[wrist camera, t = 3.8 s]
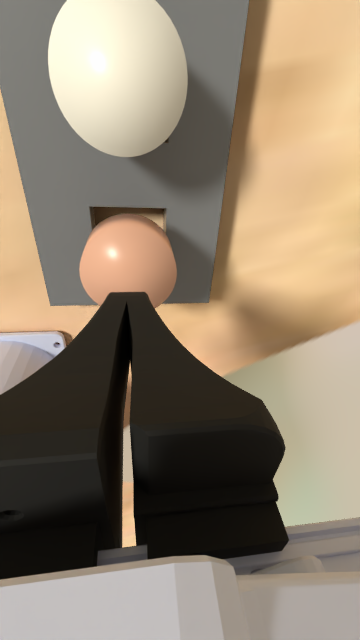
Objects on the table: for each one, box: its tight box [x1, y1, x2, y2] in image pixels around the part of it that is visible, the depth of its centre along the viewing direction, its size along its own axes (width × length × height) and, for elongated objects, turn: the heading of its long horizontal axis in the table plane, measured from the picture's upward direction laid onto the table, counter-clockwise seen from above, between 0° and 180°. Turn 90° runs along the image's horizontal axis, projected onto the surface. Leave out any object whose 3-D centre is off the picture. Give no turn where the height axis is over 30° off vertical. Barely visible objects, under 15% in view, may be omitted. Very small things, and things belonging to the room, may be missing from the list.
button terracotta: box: [79, 214, 177, 308], centre depth 15 cm, size 4×4×4 cm
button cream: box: [48, 0, 188, 157], centre depth 11 cm, size 4×4×4 cm
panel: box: [0, 0, 249, 306], centre depth 13 cm, size 22×10×2 cm, turn 177°
